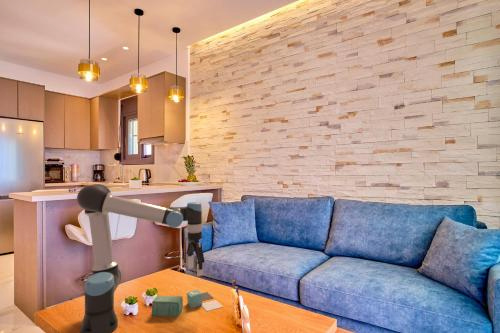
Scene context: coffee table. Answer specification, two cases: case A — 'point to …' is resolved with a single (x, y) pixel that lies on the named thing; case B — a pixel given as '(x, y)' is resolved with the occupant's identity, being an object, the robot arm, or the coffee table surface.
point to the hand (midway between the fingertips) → (195, 271)
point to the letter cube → (194, 298)
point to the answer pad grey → (211, 305)
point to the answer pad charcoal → (206, 296)
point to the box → (167, 305)
